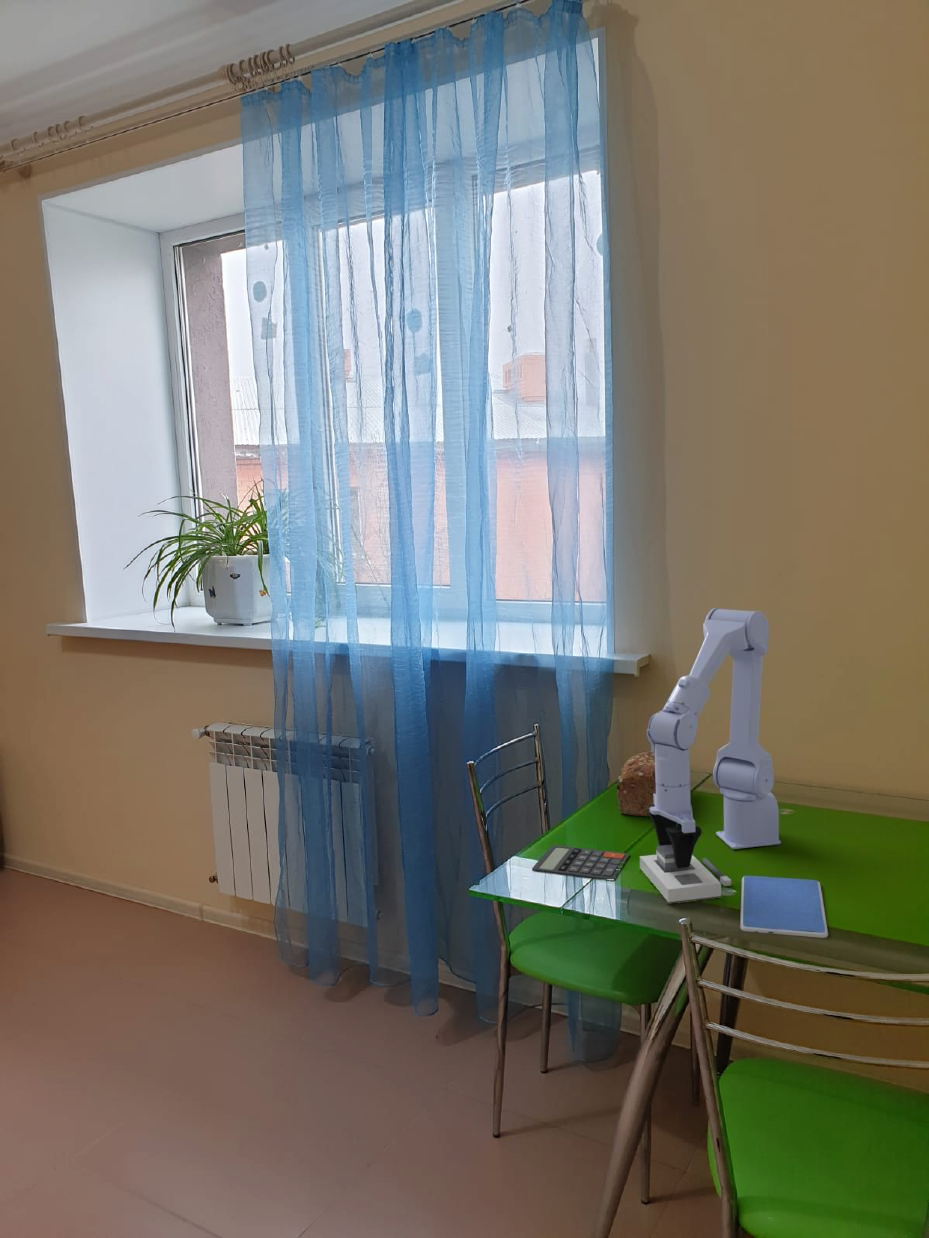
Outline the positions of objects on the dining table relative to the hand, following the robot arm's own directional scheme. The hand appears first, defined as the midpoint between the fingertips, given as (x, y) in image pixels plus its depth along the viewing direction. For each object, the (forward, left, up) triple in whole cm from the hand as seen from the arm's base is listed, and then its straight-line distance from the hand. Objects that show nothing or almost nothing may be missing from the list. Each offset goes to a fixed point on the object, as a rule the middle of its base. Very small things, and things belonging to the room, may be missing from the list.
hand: (674, 858), depth 164 cm
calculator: (+14, -11, -4) cm, 18 cm away
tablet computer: (-12, +14, -5) cm, 19 cm away
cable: (-7, -1, -4) cm, 8 cm away
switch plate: (0, +2, -4) cm, 4 cm away
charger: (0, 0, -3) cm, 3 cm away
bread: (-9, -38, -4) cm, 39 cm away
